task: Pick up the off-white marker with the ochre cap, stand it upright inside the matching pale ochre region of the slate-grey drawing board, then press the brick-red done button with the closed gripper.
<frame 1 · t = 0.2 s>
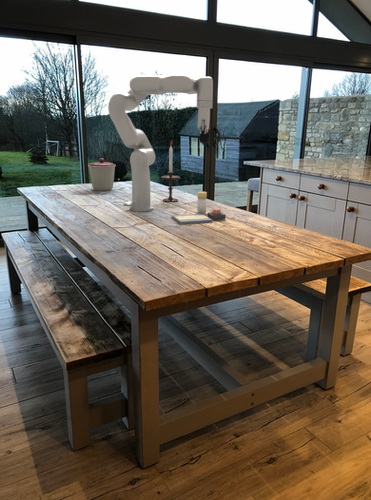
hand: (203, 142, 200), 36 cm above the table, fingers open, 9 cm apart
drawing board: (191, 219, 198), on the table
marker: (201, 213, 212), on the table
done button: (216, 212, 201), point 3 cm above the table, slide at 0.0 cm
canister: (102, 190, 277), on the table
button housing: (216, 218, 202), on the table
candlestick: (170, 201, 243), on the table
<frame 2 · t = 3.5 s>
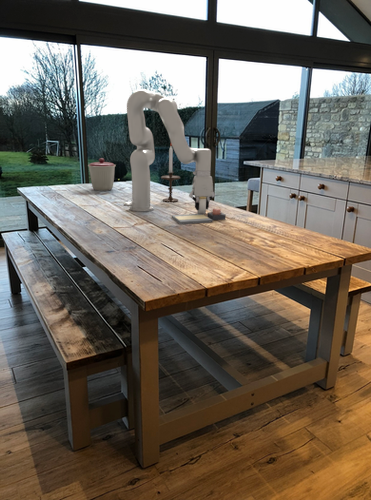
hand: (201, 208, 212), 2 cm above the table, fingers closed on marker, 4 cm apart
marker: (201, 213, 212), on the table, touching gripper
everything else where it was.
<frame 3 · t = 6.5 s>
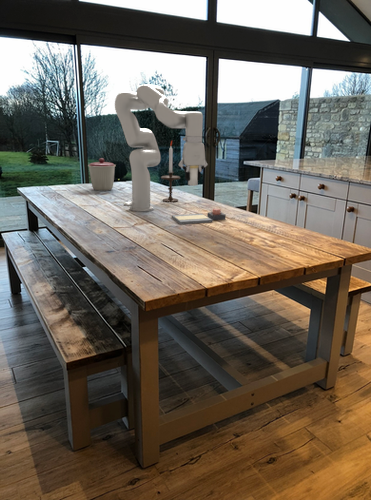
hand: (192, 179, 192), 19 cm above the table, fingers closed on marker, 4 cm apart
marker: (192, 184, 193), point 17 cm above the table, touching gripper
everything else where it was.
when the fingers open (5 cm above the table, at t = 9.6 s): marker drops 1 cm, resting on drawing board.
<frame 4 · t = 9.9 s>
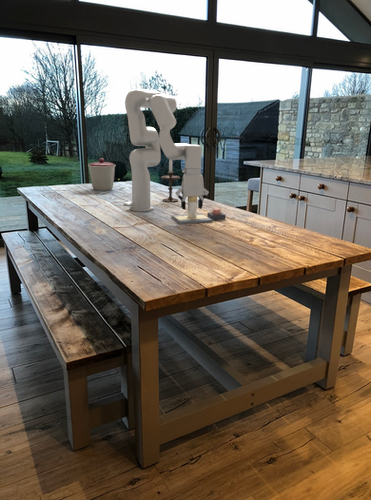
hand: (191, 208, 196), 6 cm above the table, fingers open, 7 cm apart
marker: (191, 217, 198), point 1 cm above the table, touching drawing board
everything else where it was.
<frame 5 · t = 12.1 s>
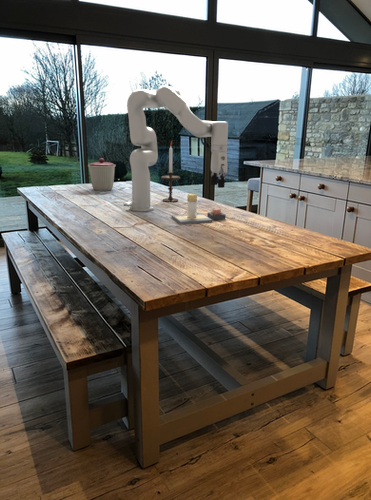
hand: (217, 186, 197), 16 cm above the table, fingers open, 7 cm apart
nothing on the table moved.
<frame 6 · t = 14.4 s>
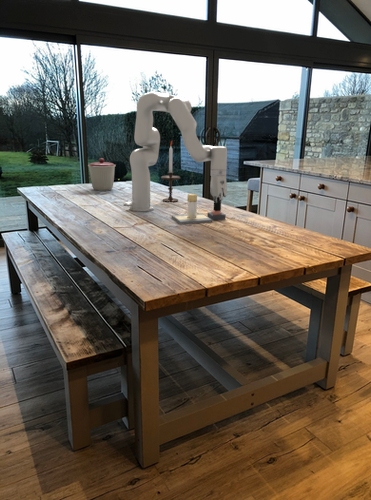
hand: (217, 210, 201), 4 cm above the table, fingers closed
done button: (216, 213, 201), point 3 cm above the table, slide at 0.5 cm, touching gripper
everything else where it was.
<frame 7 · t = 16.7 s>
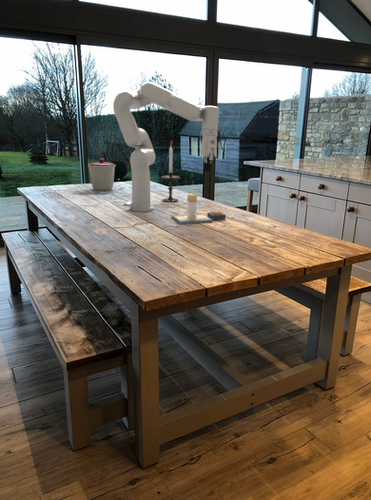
hand: (206, 171, 203), 22 cm above the table, fingers closed
done button: (216, 214, 202), point 2 cm above the table, slide at 1.2 cm
everything else where it was.
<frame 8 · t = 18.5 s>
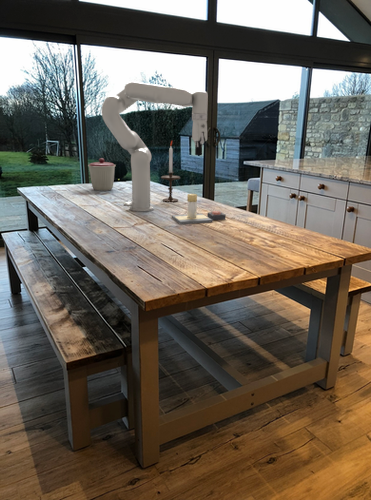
hand: (198, 155, 210), 29 cm above the table, fingers closed
nothing on the table moved.
at the end: marker inside the target area (0.1 cm from its centre), point 1.3 cm above the table; marker tilted 0°; done button slide at 1.2 cm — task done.
